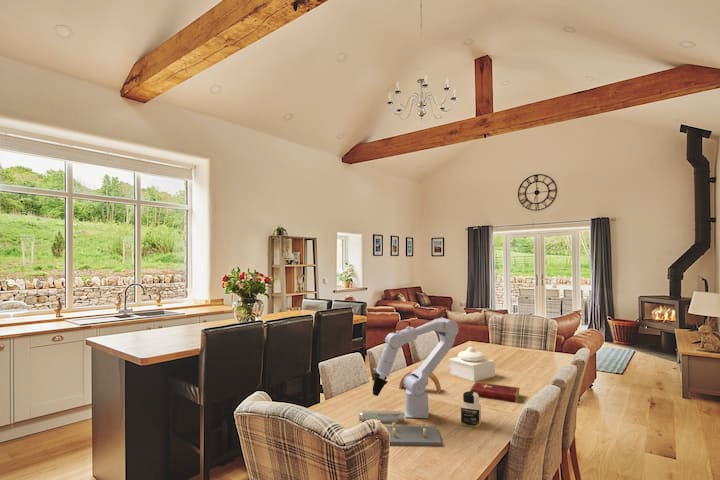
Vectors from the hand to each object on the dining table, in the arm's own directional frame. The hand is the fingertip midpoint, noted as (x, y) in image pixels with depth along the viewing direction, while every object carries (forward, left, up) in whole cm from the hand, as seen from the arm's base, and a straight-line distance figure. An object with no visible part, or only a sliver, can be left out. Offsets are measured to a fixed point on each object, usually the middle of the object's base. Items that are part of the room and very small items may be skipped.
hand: (374, 393), depth 173 cm
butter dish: (-54, -66, -11) cm, 86 cm away
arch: (-22, -40, -11) cm, 48 cm away
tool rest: (-13, +16, -11) cm, 23 cm away
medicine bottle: (-39, +2, -11) cm, 40 cm away
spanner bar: (-3, +1, -11) cm, 11 cm away
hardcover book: (-58, -32, -11) cm, 67 cm away
